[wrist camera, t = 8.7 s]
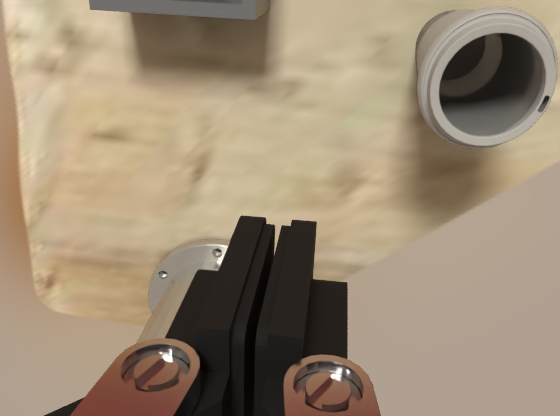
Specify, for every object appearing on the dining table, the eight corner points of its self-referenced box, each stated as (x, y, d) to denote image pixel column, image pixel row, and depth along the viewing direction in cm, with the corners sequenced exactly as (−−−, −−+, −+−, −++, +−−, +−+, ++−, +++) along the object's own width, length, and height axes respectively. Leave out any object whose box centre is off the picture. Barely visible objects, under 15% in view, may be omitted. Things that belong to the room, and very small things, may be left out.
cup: (474, 109, 38) (522, 173, 27) (385, 81, 38) (398, 134, 27) (521, 7, 35) (597, 34, 24) (424, -24, 35) (457, -10, 24)
